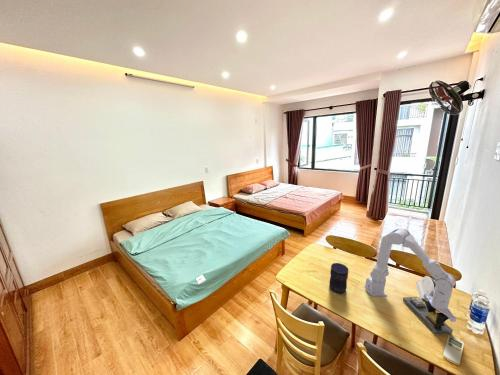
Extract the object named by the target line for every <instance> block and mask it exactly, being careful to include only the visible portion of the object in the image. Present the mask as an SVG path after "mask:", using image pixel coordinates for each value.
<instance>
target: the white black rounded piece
mask: <svg viewBox="0 0 500 375" xmlns="http://www.w3.org/2000/svg"><path fill="white" fill-rule="evenodd" d="M435 281H436V280H435V279H434V278H433V277H430V276H429V275H425V276H423V278H421V280H417V281H415V286H416V288H417V292H418V296H419V298H420V299H421V300H422V301H423V300H424V301H425V302H427V301H428V299H427V298H424V297H423V296H424V294H429V295H430V296H432V297H433V294H434V290H435V286H436V284H435Z"/></svg>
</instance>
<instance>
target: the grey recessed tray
mask: <svg viewBox="0 0 500 375" xmlns="http://www.w3.org/2000/svg"><path fill="white" fill-rule="evenodd" d="M412 298H418V296H406V297H405V296H404V297H403V298H402V301H403V303H404V304H405V305H406V306H407V307H408V308H409V309H410V310H411V311H412V312H413V313H414V315H416V316H417V317H418V319H419V320H421V321H422V322H423V324H424V325H425V326H426V327H427V328H428V329H429V330H430V331H431V332H432V333H433V334H434V335H435V336H436V335H439V336H440V335H451V334H453V331H454V330H453V328H451V326H449V325H448V324H447V323H446V321H445V322H444V323H443V324H442V326H434V325H433V324H432V323H431V322H430V321H429V320H428V319H427V316H428V309H427V306H426V304H425V307H424V308H421V309H417V308H416V307H415V306H414V305H413V304H412V303H411V300H412Z"/></svg>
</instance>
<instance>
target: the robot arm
mask: <svg viewBox="0 0 500 375" xmlns="http://www.w3.org/2000/svg"><path fill="white" fill-rule="evenodd" d="M393 245H397V246H398V245H401V247H404V248H408V249H409V250H411V251H412V252H413V254H414V255H416V256H417V258H418V259H419V260H420V261H421V262H422V267H424V269H425V270H426V271H427V273H429V274H430V276H432V277H431V278H432V279H433V280H435V284H436V286H435V290H434V294H433V297H432V296H430V295H429V294H424V296H423V297H424V298H427V299H428V301H424V303H425V305H426V306H427V309H428V312H431V311H437V312H438V313H437V317H438V318H437V324H438V325H442V324H443V323H444V322H445V323H446V321H448V320H449V321H450V322H452V323H453V322H454V323H455V322H457V320H458V319H457V317H456V316H455V315H454V313H452V311H451V310H450V309H449V304H450V301H451V297H452V293H453V288H454V286H455V284H456V278H455V277H454V276H453V275H452V274H450V273H449V272H446V271H445V269H443V267H442V266H441V264H440V262H437V260H435V259H432V258H430V256H429V255H428V254H427V253H426V252H425V250H424V249H423V248H422V247H421V246H420V245H419V243H418V242H417V241H416V239H415V237H414V235H412V233H411V232H410V231H409V230H408V229H406V228H402V227H401V228H396V229H394V230H393V231H390V232H389V233H388V234H385V235H384V236H382V238H381V242H380V246H379V251H378V255H377V260H376V264H375V265H374V267H373V269H372V271H371V272H370V277H367V278H366V280H365V284H364V286H363V287H364V288H365V289H366V291H367V292H368V293H369V295H371V296H370V297H384V296H385V297H387V296H388V294H387V293H386V291H385V287H386V281H387V278H386V277H387V276H389V274H390V273H389V272H390V271H389V266H388V263H389V259H390V256H391V255H390V254H391V251H392V246H393Z"/></svg>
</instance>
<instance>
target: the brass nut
mask: <svg viewBox="0 0 500 375" xmlns="http://www.w3.org/2000/svg"><path fill="white" fill-rule="evenodd" d="M437 313H439V311H438V310H436V311H431V312H428V316H427V319H428V320H429V321H430V322H431V323H432V324H433V325H434V326H442V325H438V324H437V318H438V317H437Z"/></svg>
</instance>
